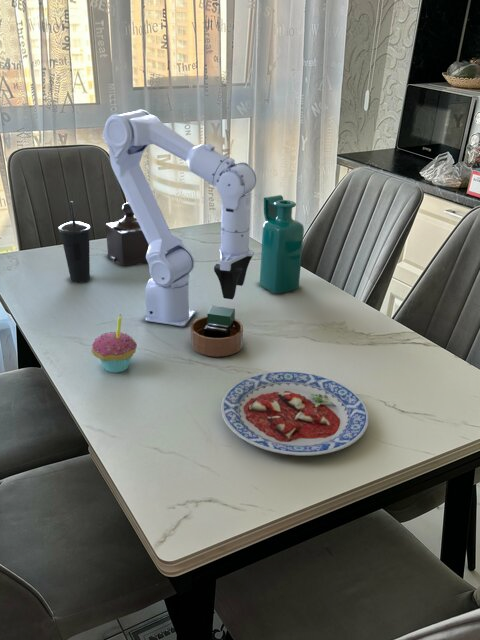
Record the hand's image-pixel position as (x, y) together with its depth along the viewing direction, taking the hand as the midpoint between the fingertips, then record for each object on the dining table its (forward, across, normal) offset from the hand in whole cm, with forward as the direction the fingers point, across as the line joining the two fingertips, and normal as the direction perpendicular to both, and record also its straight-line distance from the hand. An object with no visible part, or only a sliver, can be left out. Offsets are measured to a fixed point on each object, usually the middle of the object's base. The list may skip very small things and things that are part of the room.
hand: (233, 291), depth 129 cm
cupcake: (+10, -22, +18) cm, 30 cm away
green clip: (+4, -6, +2) cm, 8 cm away
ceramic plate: (+10, -29, -19) cm, 36 cm away
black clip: (+9, -7, +1) cm, 12 cm away
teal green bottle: (+10, +30, -4) cm, 32 cm away
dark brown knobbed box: (+10, +34, +38) cm, 52 cm away
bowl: (+10, -7, +2) cm, 12 cm away
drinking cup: (+10, +17, +46) cm, 50 cm away
